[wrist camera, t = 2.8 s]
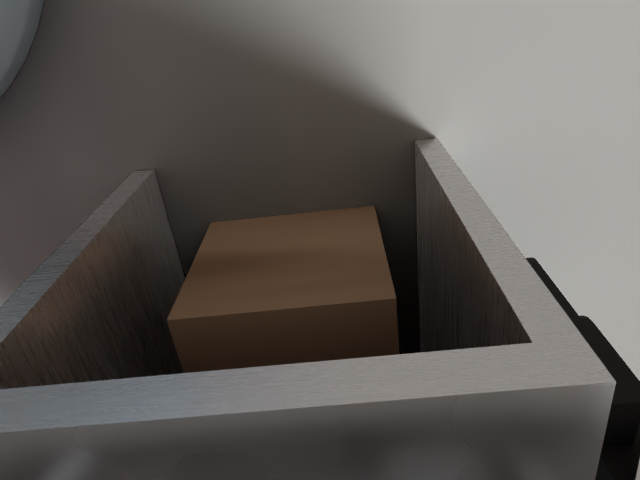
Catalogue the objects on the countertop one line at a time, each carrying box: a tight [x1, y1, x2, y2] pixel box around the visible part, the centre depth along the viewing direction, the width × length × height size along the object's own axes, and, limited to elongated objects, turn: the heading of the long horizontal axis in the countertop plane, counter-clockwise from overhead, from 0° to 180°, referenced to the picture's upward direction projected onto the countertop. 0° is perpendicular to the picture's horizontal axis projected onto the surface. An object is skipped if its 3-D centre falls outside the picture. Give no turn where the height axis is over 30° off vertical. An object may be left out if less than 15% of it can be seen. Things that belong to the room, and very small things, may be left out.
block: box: [167, 205, 399, 373], centre depth 11 cm, size 4×4×4 cm
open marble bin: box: [0, 138, 616, 480], centre depth 10 cm, size 7×7×8 cm
